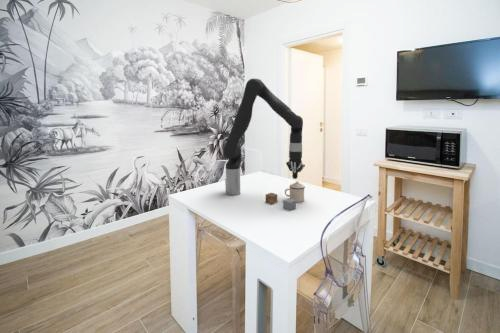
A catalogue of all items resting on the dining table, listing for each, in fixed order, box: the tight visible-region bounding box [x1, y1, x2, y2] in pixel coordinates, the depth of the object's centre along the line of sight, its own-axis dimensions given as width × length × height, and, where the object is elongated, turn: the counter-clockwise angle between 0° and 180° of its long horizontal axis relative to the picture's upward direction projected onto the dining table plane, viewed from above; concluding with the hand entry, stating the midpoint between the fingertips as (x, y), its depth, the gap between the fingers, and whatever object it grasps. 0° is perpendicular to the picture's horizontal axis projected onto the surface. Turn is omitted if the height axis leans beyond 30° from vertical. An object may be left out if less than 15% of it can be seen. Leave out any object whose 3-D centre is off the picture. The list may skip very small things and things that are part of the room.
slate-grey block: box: [282, 197, 297, 212], centre depth 152 cm, size 5×5×5 cm
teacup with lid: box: [284, 180, 305, 203], centre depth 165 cm, size 12×9×12 cm
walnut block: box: [265, 192, 278, 205], centre depth 162 cm, size 5×5×5 cm
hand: (294, 178), depth 163 cm, fingers closed
